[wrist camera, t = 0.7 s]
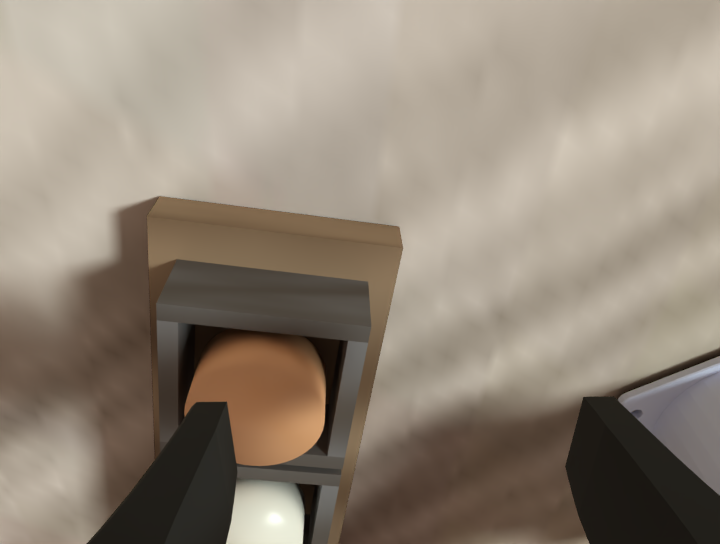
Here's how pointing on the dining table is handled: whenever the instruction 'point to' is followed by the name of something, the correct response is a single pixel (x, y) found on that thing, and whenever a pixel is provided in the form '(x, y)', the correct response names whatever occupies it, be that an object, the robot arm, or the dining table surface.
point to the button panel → (274, 321)
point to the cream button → (267, 513)
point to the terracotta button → (264, 392)
